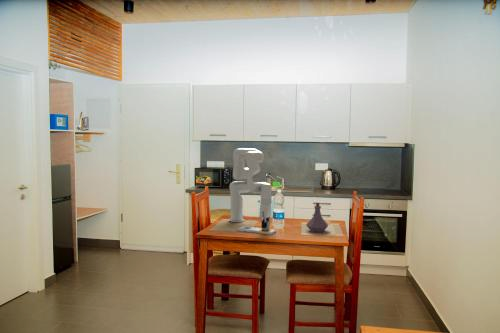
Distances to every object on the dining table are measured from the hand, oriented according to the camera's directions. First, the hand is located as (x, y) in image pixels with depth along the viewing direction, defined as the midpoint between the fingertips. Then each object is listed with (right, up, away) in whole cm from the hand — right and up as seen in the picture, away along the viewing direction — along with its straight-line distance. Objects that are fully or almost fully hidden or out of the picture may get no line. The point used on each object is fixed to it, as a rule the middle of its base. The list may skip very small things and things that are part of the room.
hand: (265, 226), depth 275 cm
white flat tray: (-6, -4, +3) cm, 8 cm away
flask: (+37, -4, +8) cm, 38 cm away
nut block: (0, -4, 0) cm, 4 cm away
